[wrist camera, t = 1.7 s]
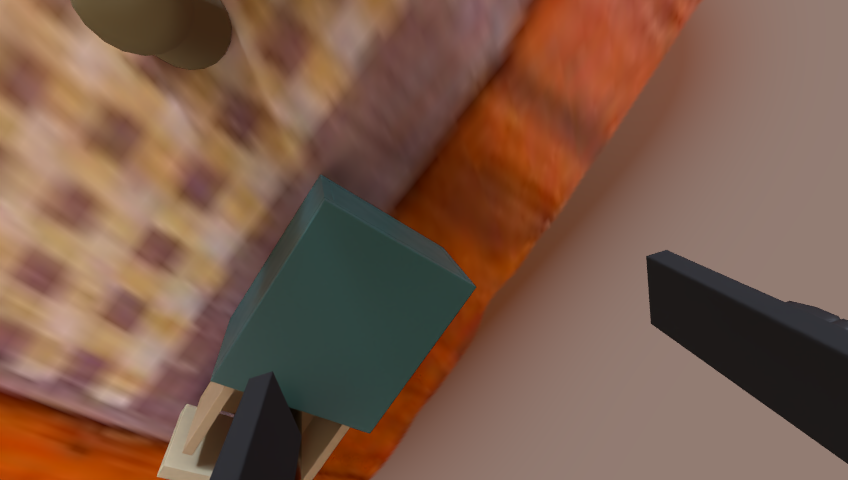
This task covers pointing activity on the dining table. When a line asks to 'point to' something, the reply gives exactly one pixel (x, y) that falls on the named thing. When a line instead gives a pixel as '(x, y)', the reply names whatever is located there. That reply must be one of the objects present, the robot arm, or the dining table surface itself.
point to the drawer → (208, 429)
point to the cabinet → (342, 309)
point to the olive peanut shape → (161, 28)
